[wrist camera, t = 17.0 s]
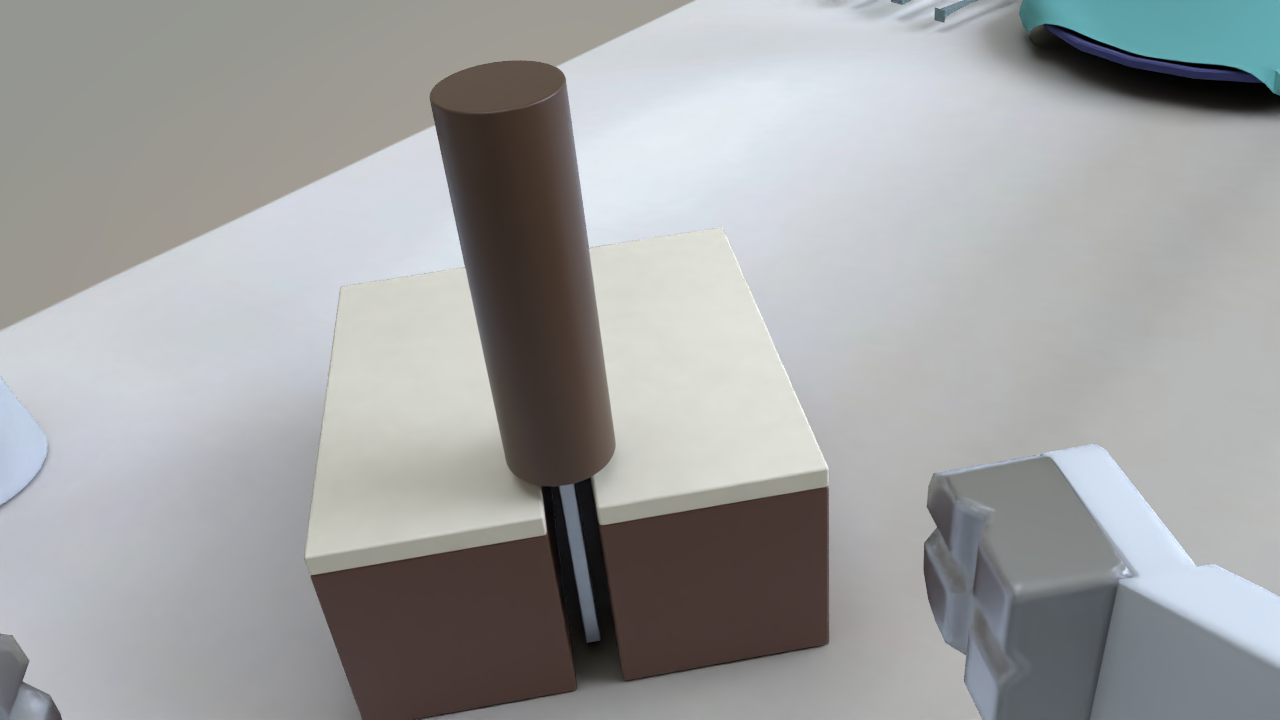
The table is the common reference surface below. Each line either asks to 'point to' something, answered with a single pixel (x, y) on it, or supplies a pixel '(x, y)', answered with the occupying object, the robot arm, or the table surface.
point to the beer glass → (18, 444)
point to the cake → (524, 513)
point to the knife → (530, 279)
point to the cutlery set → (1166, 34)
